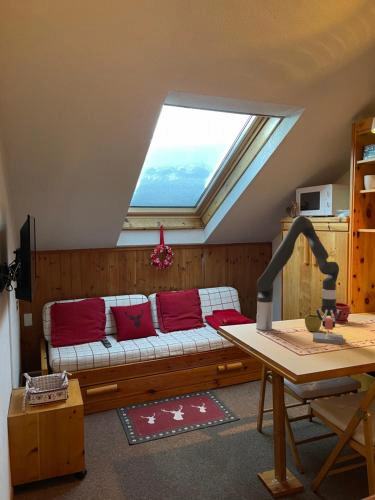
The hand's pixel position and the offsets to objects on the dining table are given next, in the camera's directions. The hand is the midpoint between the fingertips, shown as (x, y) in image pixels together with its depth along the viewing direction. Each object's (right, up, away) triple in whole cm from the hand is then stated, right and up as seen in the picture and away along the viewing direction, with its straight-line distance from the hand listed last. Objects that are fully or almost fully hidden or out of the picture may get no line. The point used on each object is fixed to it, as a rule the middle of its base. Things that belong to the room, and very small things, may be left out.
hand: (328, 327), depth 224 cm
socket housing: (0, 0, 0) cm, 0 cm away
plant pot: (+21, -5, +42) cm, 47 cm away
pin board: (0, -7, 0) cm, 7 cm away
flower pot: (-2, -6, +21) cm, 22 cm away
